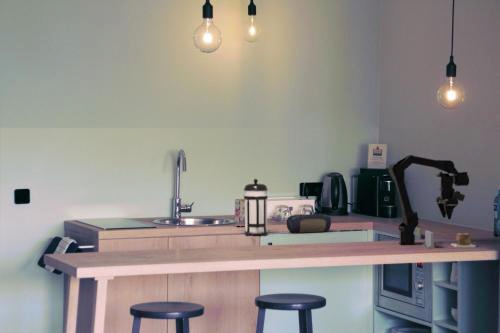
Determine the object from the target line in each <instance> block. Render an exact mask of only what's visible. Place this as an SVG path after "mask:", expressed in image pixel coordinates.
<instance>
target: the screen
mask: <svg viewBox="0 0 500 333" xmlns="http://www.w3.org/2000/svg"><path fill="white" fill-rule="evenodd" d="M434 236H435V235H434V232H432V231H430V230H424V243H423V246H424V245H426V247H428V249H436V246H435V245H434V240H435V238H434Z"/></svg>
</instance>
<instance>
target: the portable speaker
mask: <svg viewBox="0 0 500 333" xmlns="http://www.w3.org/2000/svg"><path fill="white" fill-rule="evenodd" d="M331 225H332V219H331V216H330V215H329V214H327V213H326V214H325V213H316V214H314V213H313V214H308V213H307V214H294V215H290V216H289V217H287V218H286V228H287V230H288V232H290V233H291V234H308V233H309V234H310V233H326V232H328V231H330V229H331V227H332V226H331Z"/></svg>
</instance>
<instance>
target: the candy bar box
mask: <svg viewBox="0 0 500 333" xmlns="http://www.w3.org/2000/svg"><path fill="white" fill-rule="evenodd" d="M235 222H238V223H242V222H245V199H244V198H235V199H234V223H235Z"/></svg>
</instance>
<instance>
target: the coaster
mask: <svg viewBox="0 0 500 333" xmlns="http://www.w3.org/2000/svg"><path fill="white" fill-rule="evenodd" d="M450 246H452V247H454V248H457V249H458V248H459V249H460V248H465V249H466V248H469V249H470V248H477V246H476V245H474V244H472V243H470V245H457V244H456V243H450Z"/></svg>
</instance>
